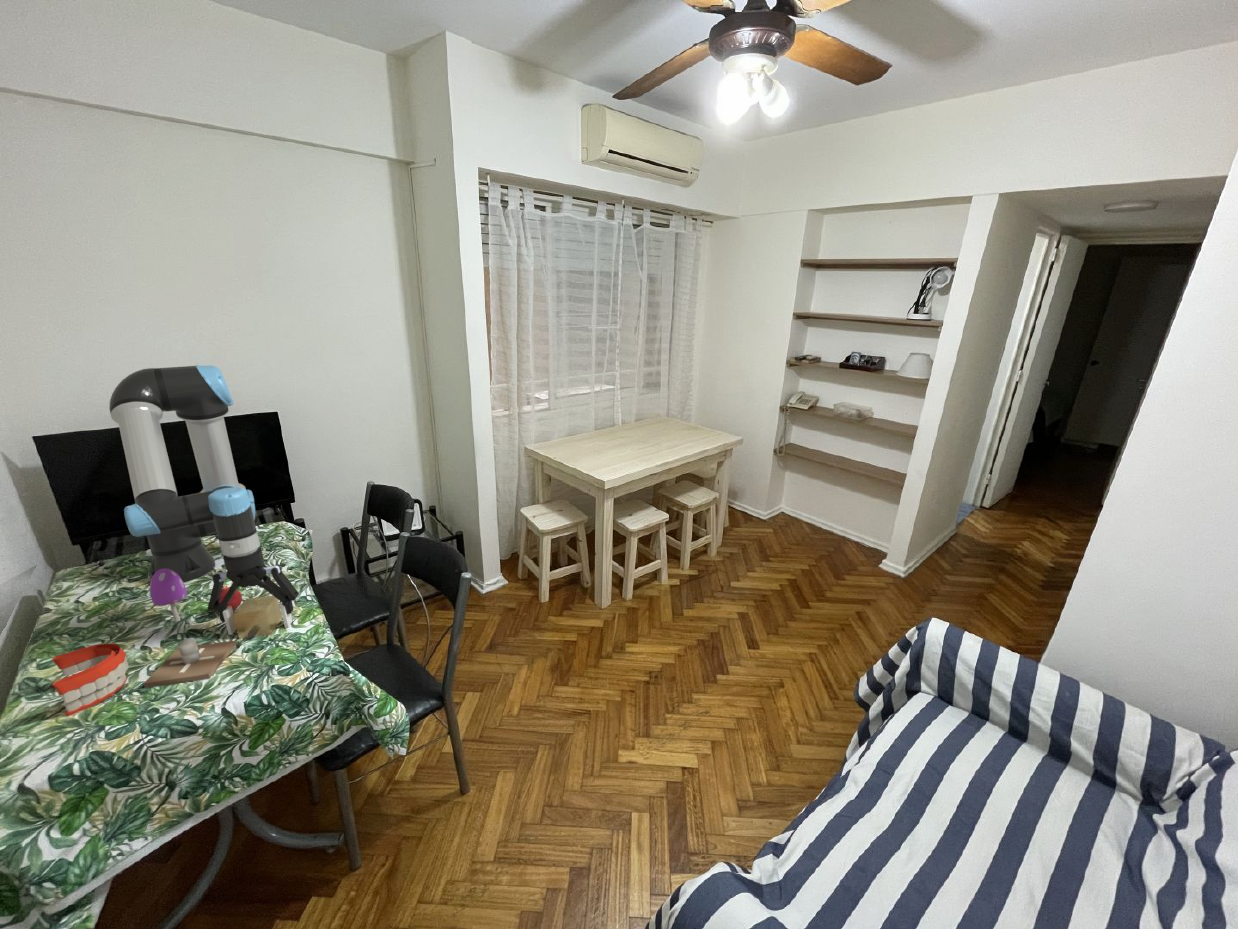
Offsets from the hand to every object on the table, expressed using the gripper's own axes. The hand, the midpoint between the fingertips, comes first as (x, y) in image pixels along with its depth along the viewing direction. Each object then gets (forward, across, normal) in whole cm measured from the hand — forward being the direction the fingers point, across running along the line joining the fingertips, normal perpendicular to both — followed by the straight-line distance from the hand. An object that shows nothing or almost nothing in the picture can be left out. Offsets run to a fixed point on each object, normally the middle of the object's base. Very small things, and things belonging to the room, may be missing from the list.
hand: (261, 627), depth 125 cm
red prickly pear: (0, -11, +10) cm, 15 cm away
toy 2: (0, -23, +9) cm, 25 cm away
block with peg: (0, 0, 0) cm, 0 cm away
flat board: (0, -9, -12) cm, 15 cm away
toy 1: (0, -24, -16) cm, 29 cm away
